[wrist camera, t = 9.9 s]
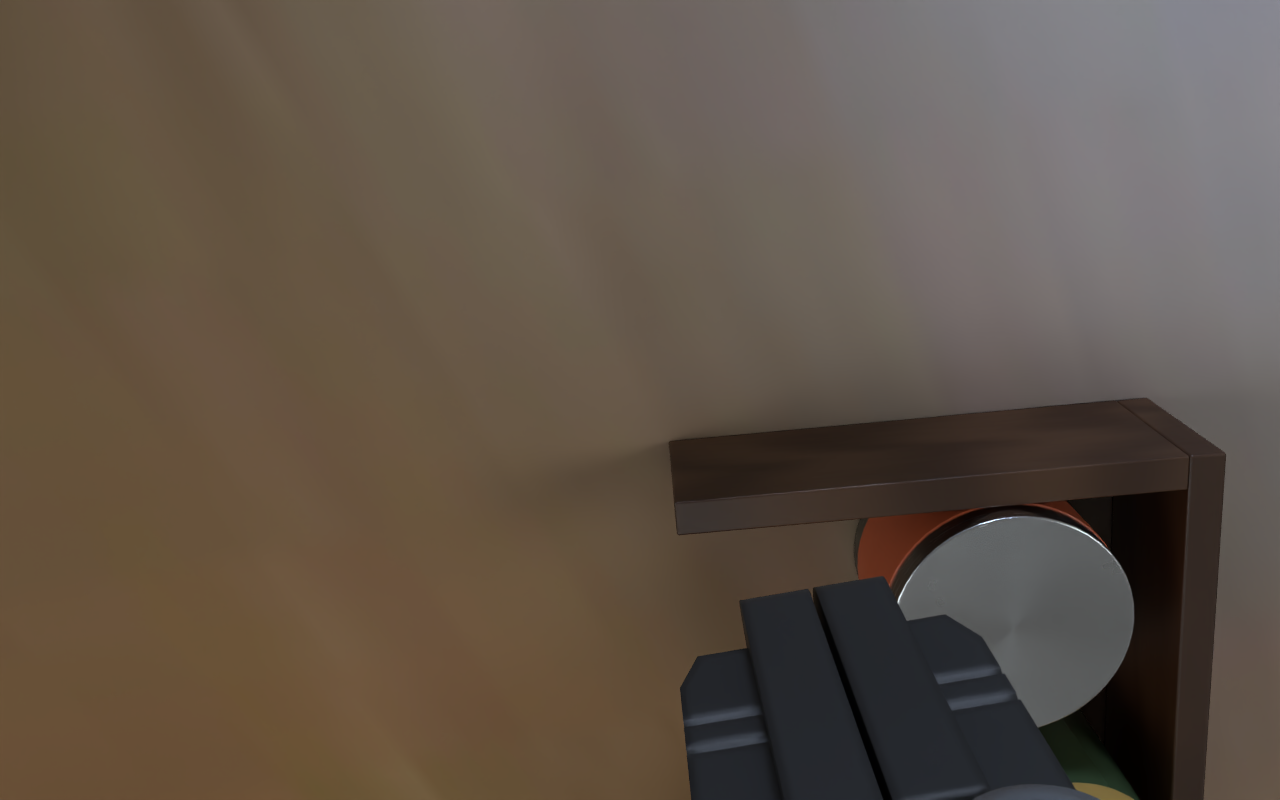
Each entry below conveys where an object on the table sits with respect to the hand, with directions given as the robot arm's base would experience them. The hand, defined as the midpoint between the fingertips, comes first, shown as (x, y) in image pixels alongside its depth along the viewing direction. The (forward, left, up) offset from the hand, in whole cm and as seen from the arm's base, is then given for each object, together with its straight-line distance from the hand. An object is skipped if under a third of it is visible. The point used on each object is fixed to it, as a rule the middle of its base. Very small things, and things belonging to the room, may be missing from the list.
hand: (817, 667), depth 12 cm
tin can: (+8, -10, -23) cm, 27 cm away
